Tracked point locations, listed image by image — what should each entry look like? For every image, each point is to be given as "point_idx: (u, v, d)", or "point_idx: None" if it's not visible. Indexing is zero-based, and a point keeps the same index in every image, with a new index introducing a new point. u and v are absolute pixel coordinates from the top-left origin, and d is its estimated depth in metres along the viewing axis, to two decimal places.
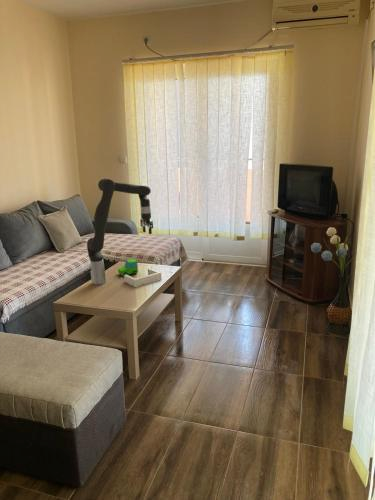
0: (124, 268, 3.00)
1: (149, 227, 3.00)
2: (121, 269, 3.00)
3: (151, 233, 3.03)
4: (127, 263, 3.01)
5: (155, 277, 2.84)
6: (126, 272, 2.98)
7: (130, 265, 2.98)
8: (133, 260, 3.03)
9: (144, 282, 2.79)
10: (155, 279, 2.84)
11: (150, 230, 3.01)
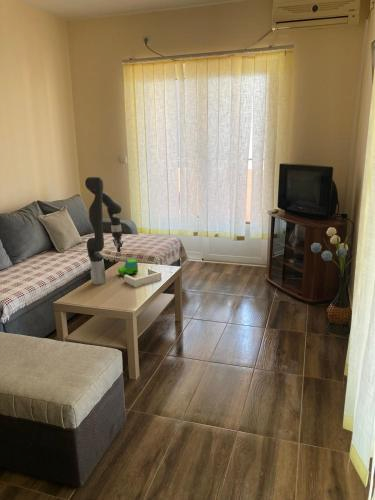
0: (124, 268, 3.00)
1: (118, 246, 3.06)
2: (121, 269, 3.00)
3: (120, 251, 3.08)
4: (127, 263, 3.01)
5: (155, 277, 2.84)
6: (126, 272, 2.98)
7: (130, 265, 2.98)
8: (133, 260, 3.03)
9: (144, 282, 2.79)
10: (155, 279, 2.84)
11: (119, 249, 3.06)
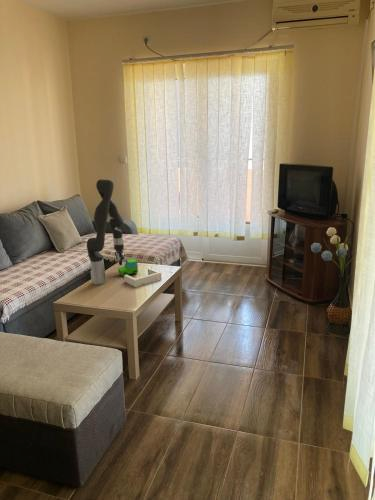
0: (124, 268, 3.00)
1: None
2: (121, 269, 3.00)
3: None
4: (127, 263, 3.01)
5: (155, 277, 2.84)
6: (126, 272, 2.98)
7: (130, 265, 2.98)
8: (133, 260, 3.03)
9: (144, 282, 2.79)
10: (155, 279, 2.84)
11: (120, 261, 3.08)
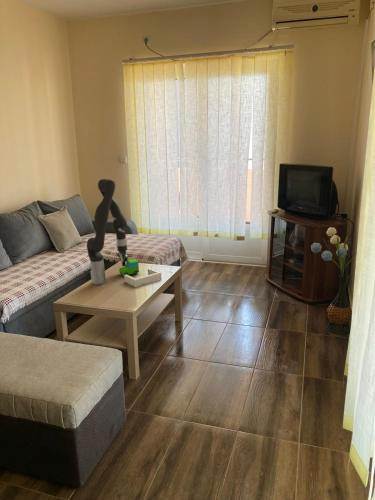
0: (125, 268, 3.00)
1: (123, 260, 3.04)
2: (122, 269, 2.99)
3: None
4: (128, 263, 3.01)
5: (155, 277, 2.84)
6: (127, 272, 2.98)
7: (131, 265, 2.98)
8: (134, 260, 3.02)
9: (144, 282, 2.79)
10: (155, 279, 2.84)
11: (124, 263, 3.04)
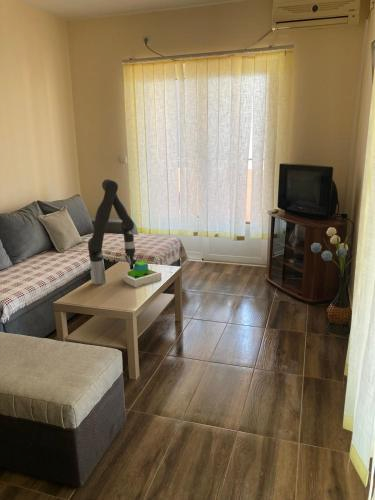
0: (134, 271, 2.91)
1: (131, 263, 2.95)
2: (132, 272, 2.90)
3: (133, 268, 2.98)
4: (137, 266, 2.92)
5: (155, 277, 2.84)
6: (137, 275, 2.90)
7: (141, 268, 2.90)
8: (143, 263, 2.95)
9: (144, 282, 2.79)
10: (155, 279, 2.84)
11: (132, 266, 2.96)
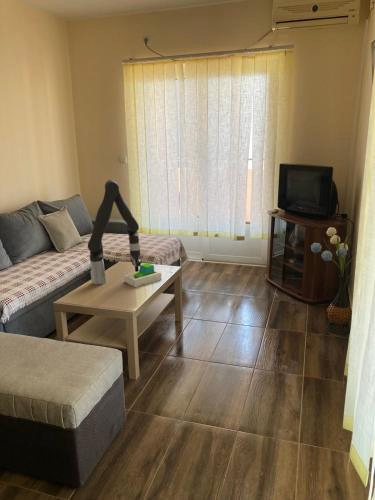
0: (141, 273, 2.86)
1: (136, 265, 2.89)
2: (138, 275, 2.84)
3: None
4: (143, 268, 2.87)
5: (155, 277, 2.84)
6: None
7: (148, 269, 2.86)
8: (148, 264, 2.90)
9: (144, 282, 2.79)
10: (155, 279, 2.84)
11: (137, 268, 2.90)
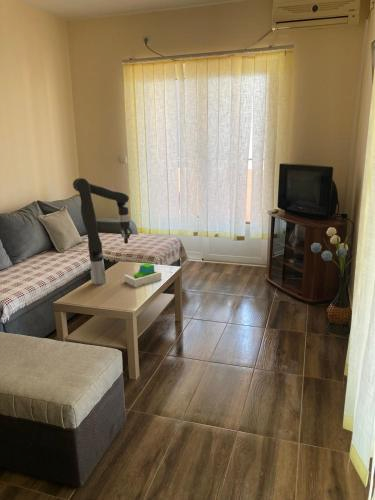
0: (141, 273, 2.86)
1: None
2: (138, 275, 2.84)
3: None
4: (143, 268, 2.87)
5: (155, 277, 2.84)
6: None
7: (148, 269, 2.86)
8: (148, 264, 2.90)
9: (144, 282, 2.79)
10: (155, 279, 2.84)
11: (126, 240, 2.93)
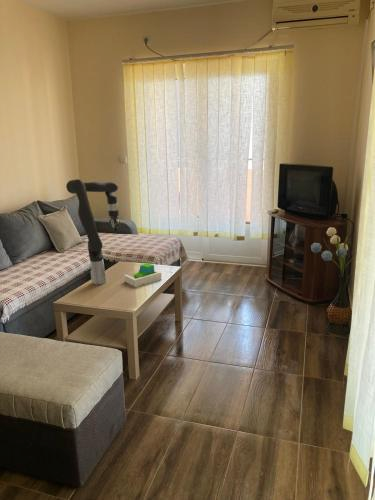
0: (141, 273, 2.86)
1: (114, 225, 2.97)
2: (138, 275, 2.84)
3: (116, 231, 2.99)
4: (143, 268, 2.87)
5: (155, 277, 2.84)
6: None
7: (148, 269, 2.85)
8: (149, 264, 2.90)
9: (144, 282, 2.79)
10: (155, 279, 2.84)
11: (115, 228, 2.97)
